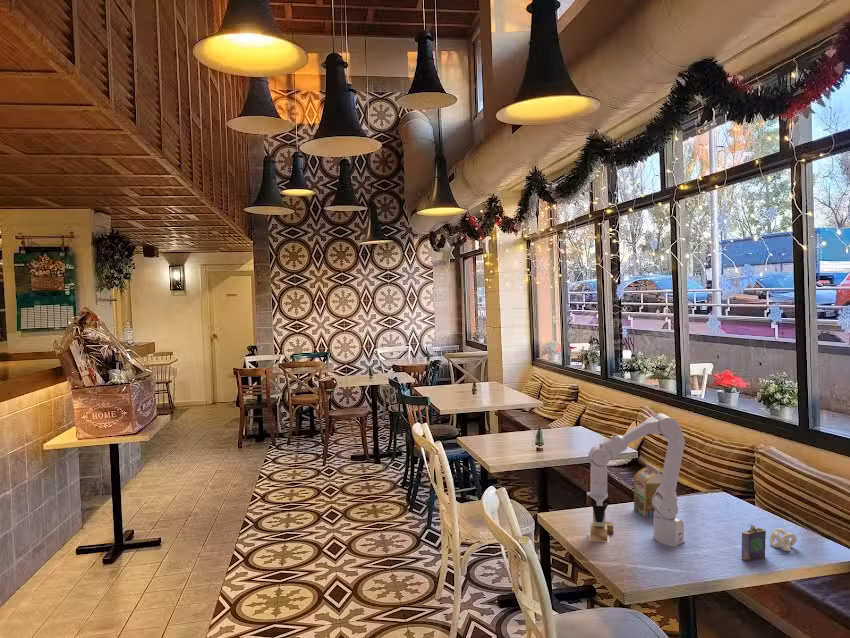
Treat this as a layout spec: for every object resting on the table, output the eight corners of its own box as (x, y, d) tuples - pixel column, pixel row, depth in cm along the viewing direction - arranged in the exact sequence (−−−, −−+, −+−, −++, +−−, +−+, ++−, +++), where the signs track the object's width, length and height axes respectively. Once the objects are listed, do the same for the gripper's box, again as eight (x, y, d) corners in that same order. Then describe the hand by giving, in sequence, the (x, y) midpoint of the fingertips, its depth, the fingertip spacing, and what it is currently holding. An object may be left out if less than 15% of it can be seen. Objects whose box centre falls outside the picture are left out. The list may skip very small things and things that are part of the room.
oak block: (606, 535, 211) (606, 524, 211) (607, 541, 206) (607, 529, 206) (590, 533, 212) (590, 522, 212) (590, 539, 207) (590, 528, 207)
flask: (746, 561, 190) (746, 528, 190) (738, 558, 193) (738, 525, 193) (767, 557, 193) (767, 525, 193) (759, 554, 196) (760, 522, 196)
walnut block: (612, 530, 216) (612, 522, 216) (613, 534, 212) (613, 526, 212) (601, 529, 217) (601, 521, 217) (601, 533, 213) (601, 525, 213)
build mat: (637, 540, 208) (637, 538, 208) (615, 551, 199) (615, 549, 199) (601, 528, 219) (601, 526, 219) (578, 538, 209) (578, 536, 209)
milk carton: (634, 509, 239) (634, 463, 238) (659, 509, 240) (659, 462, 239) (645, 519, 228) (645, 470, 228) (672, 518, 229) (672, 469, 229)
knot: (762, 545, 203) (762, 528, 203) (779, 541, 206) (779, 525, 206) (782, 553, 196) (782, 536, 196) (799, 550, 199) (799, 532, 199)
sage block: (604, 522, 210) (604, 508, 210) (605, 526, 206) (605, 512, 206) (593, 521, 211) (592, 507, 211) (593, 525, 207) (593, 511, 207)
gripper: (586, 474, 216) (586, 511, 217) (587, 486, 202) (587, 526, 203) (606, 476, 215) (606, 513, 215) (609, 488, 201) (609, 527, 201)
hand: (598, 519), depth 209 cm, fingers closed on sage block, 4 cm apart
